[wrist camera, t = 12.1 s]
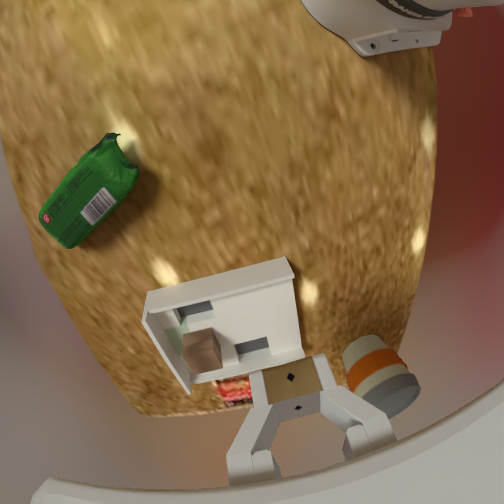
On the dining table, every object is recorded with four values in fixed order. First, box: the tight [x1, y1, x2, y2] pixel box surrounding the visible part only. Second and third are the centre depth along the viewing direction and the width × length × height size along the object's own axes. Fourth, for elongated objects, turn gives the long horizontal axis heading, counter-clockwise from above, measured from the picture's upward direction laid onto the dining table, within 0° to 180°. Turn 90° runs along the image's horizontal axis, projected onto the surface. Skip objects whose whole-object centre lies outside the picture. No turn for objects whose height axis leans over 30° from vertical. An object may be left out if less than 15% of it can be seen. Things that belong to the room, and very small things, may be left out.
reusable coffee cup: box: [342, 334, 421, 419], centre depth 49 cm, size 13×12×15 cm
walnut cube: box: [182, 327, 223, 375], centre depth 41 cm, size 4×4×4 cm
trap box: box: [142, 257, 305, 395], centre depth 42 cm, size 20×17×6 cm
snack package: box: [39, 133, 140, 249], centre depth 30 cm, size 7×16×5 cm, turn 125°
